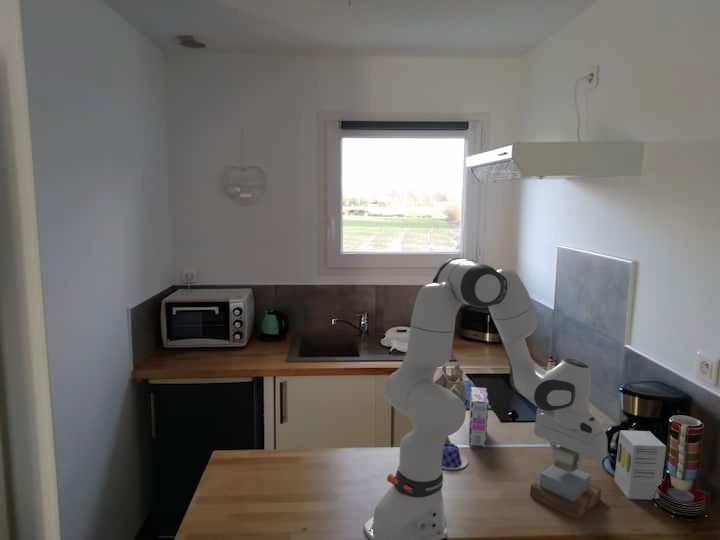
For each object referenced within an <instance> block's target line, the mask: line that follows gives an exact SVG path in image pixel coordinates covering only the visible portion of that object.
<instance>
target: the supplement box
mask: <svg viewBox="0 0 720 540" xmlns="http://www.w3.org/2000/svg"><path fill="white" fill-rule="evenodd" d="M618 436H619V437H618V442H617V443H618V445H617V455H616V461H615V462H616V463H615V471H614V480H613V481H614V482H615V484H616V486H618V488H619V489H620V490H621V492H622V493H623V494H624V496H625V497H626V498H627V499H628V500H648V501H649V500H651V501H652V499H653V498H654V494H655V491H656V488H657V487H658V486H659V485H661V484H662V485H663V476H664V467H665V460H666V452H667V446H666V445H665V444H664V443H663V442H662V441H661V440H660V439H659V438H658V437H656V436H655V435H654V434H653V433H652V432H651V431H650V430H647V431H646V430H625V429H624V430H619V434H618ZM662 485H661V486H662Z"/></svg>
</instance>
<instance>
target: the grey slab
mask: <svg viewBox="0 0 720 540" xmlns="http://www.w3.org/2000/svg"><path fill="white" fill-rule="evenodd" d="M591 476H592V474H590V473H586V472H584V471H582V470H579V468H578V469H576V470H575V471H573V472H572V473H569V472H567V471H564V470H562V469H560V468H558V467H556V466H554V463H552V464H551V465H550V466H549V467H548V468H545V470H543V471H541V472H540V476H539V477H540V478H539V479H540V486H541V487H543V488H545V489H547V490H549V491H551V492H554V493H556V494H558V495H560V496H562V497H565V498H567V499H569V500H571V501H573V502H574V501H575V500H576V499H578V498H579V497H580V496H581V495H582V494H583V493H584V492H585V491H586V490H587V489H589V487H590V484H591Z"/></svg>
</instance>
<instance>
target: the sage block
mask: <svg viewBox="0 0 720 540" xmlns="http://www.w3.org/2000/svg"><path fill="white" fill-rule="evenodd" d="M577 458H578V459H580V458H581V457H579V453H577V452H575V451H572V450H570V449H567V448H565V447H562V446H559V447H557V449H556V450H555V457H554V463H553V464H554V466H556V467H558V468H560V469H562V470H564V471H567V472H569V473H572V472H573V471H575V470H576V469H578V470H579V469H580V468H579V467H576V466H574V464H575V463H574V461H575V460H576V459H577Z"/></svg>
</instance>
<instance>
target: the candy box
mask: <svg viewBox="0 0 720 540" xmlns="http://www.w3.org/2000/svg"><path fill="white" fill-rule="evenodd" d="M487 390H488V389H487V388H486V387H478V386H471V387H470V399H469V420H468V421H469V423H468V446H471V447H479V448H480V447H481V448H486V446H487V430H488V429H487V428H488V418H489V417H488V415H489V413H488V412H489V397H488V391H487Z"/></svg>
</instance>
